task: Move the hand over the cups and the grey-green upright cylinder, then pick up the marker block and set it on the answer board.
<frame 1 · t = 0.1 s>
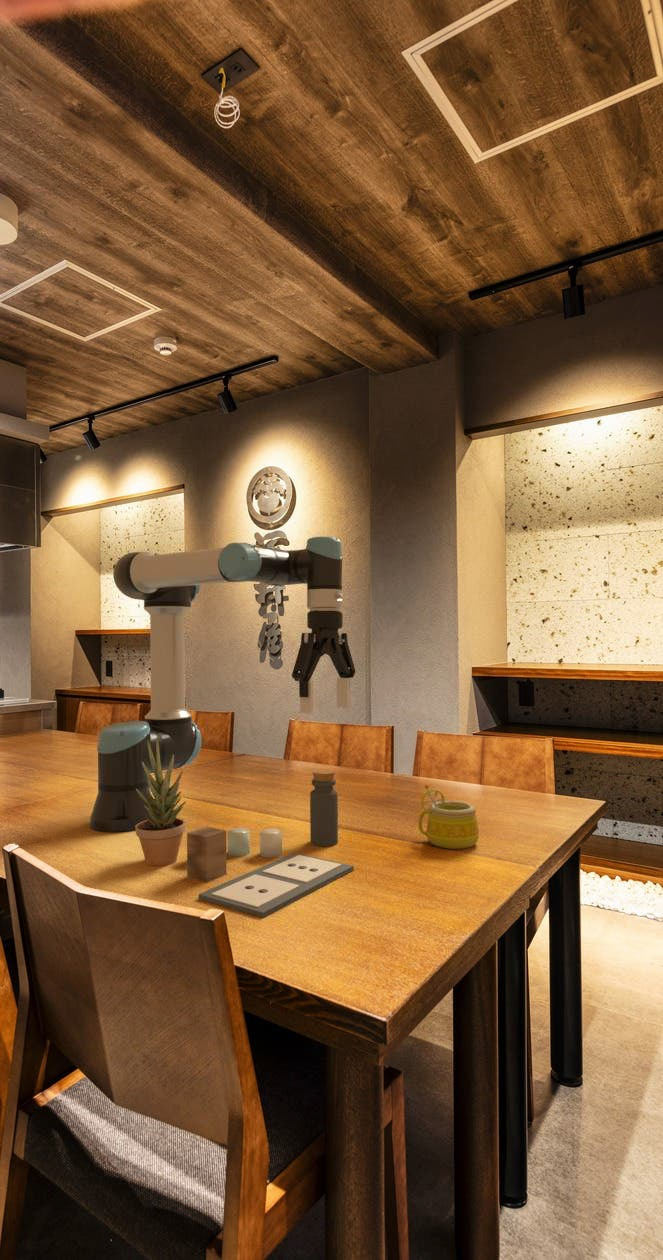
hand: (325, 710, 144), 28 cm above the table, fingers open, 13 cm apart
potted plant: (161, 862, 132), on the table
marker block: (206, 875, 124), on the table
cup a: (203, 860, 133), on the table
grey-green upright cylinder b: (238, 853, 137), on the table
cup c: (271, 854, 136), on the table
mug: (447, 844, 142), on the table
bottle: (324, 843, 144), on the table
answer board: (280, 883, 119), on the table
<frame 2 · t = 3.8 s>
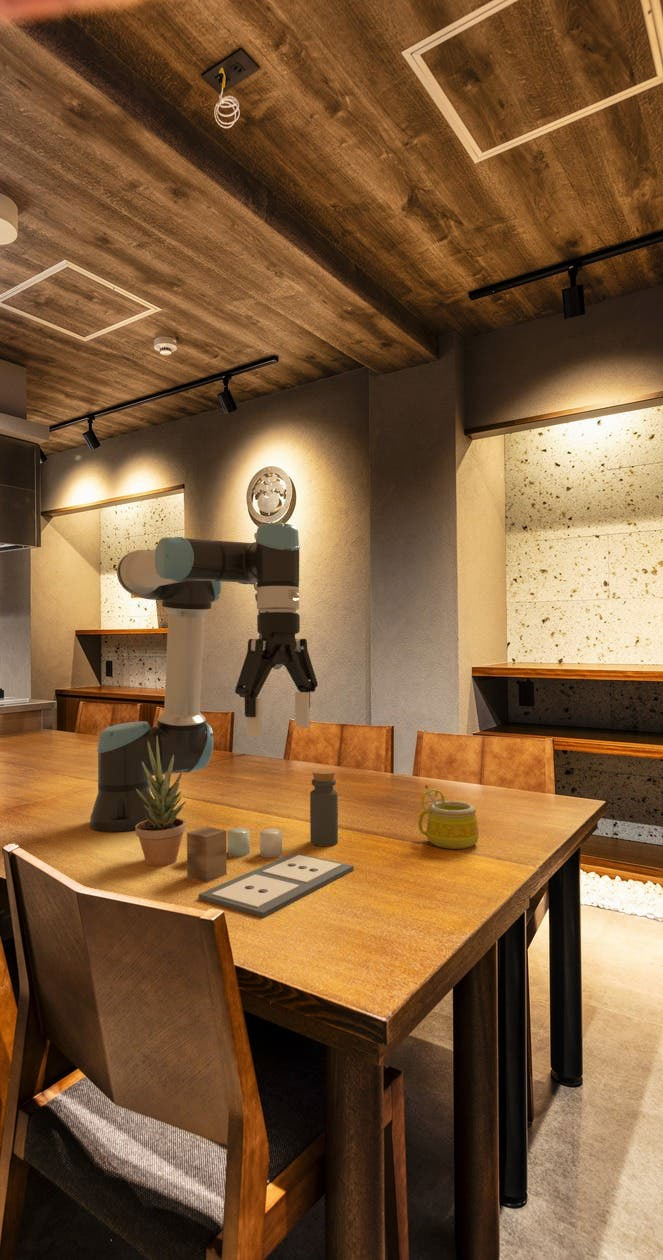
hand: (279, 731, 120), 27 cm above the table, fingers open, 13 cm apart
nothing on the table moved.
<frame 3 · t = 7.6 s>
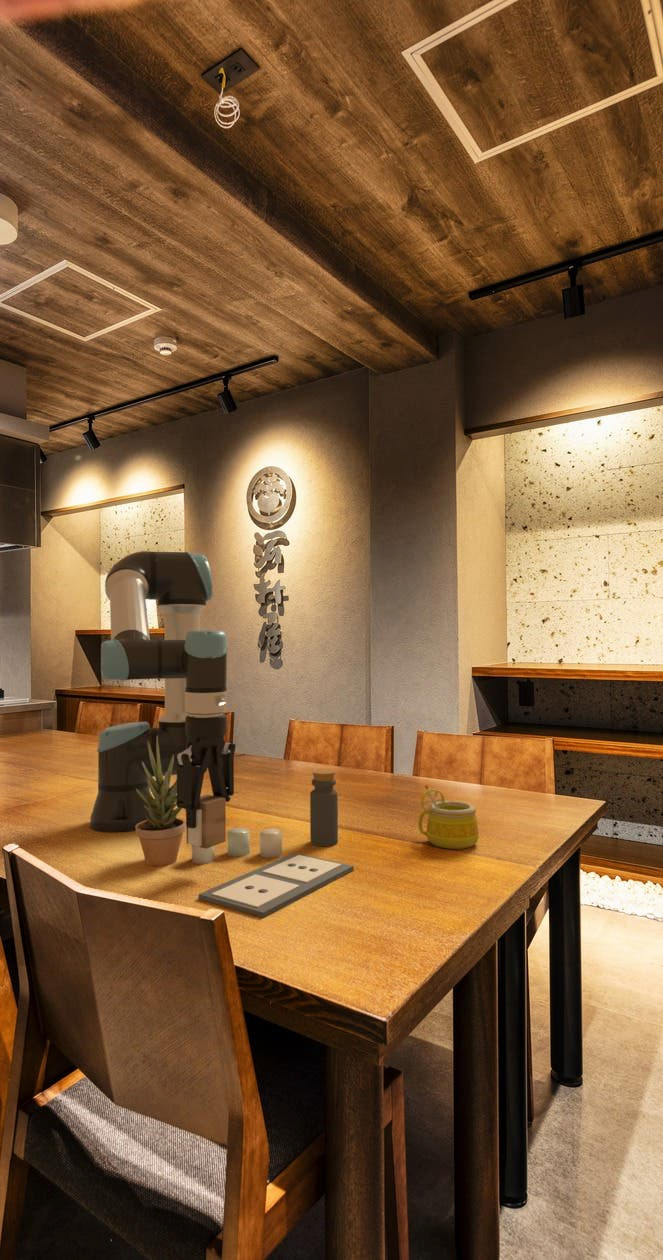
hand: (206, 840, 125), 6 cm above the table, fingers closed on marker block, 5 cm apart
marker block: (206, 842, 125), point 6 cm above the table, touching gripper
everything else where it was.
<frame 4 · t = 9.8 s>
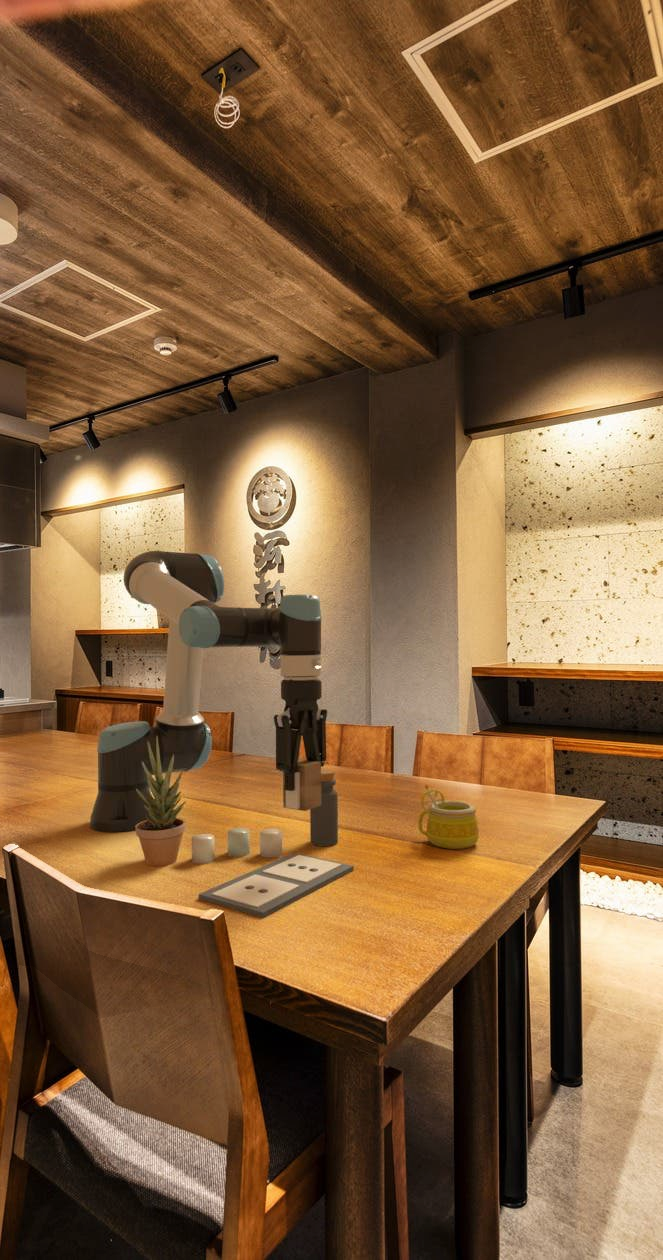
hand: (302, 804, 125), 13 cm above the table, fingers closed on marker block, 5 cm apart
marker block: (302, 806, 125), point 12 cm above the table, touching gripper
everything else where it was.
when the fingers open (1 cm above the table, at t = 11.9 s): marker block stays where it is, resting on answer board.
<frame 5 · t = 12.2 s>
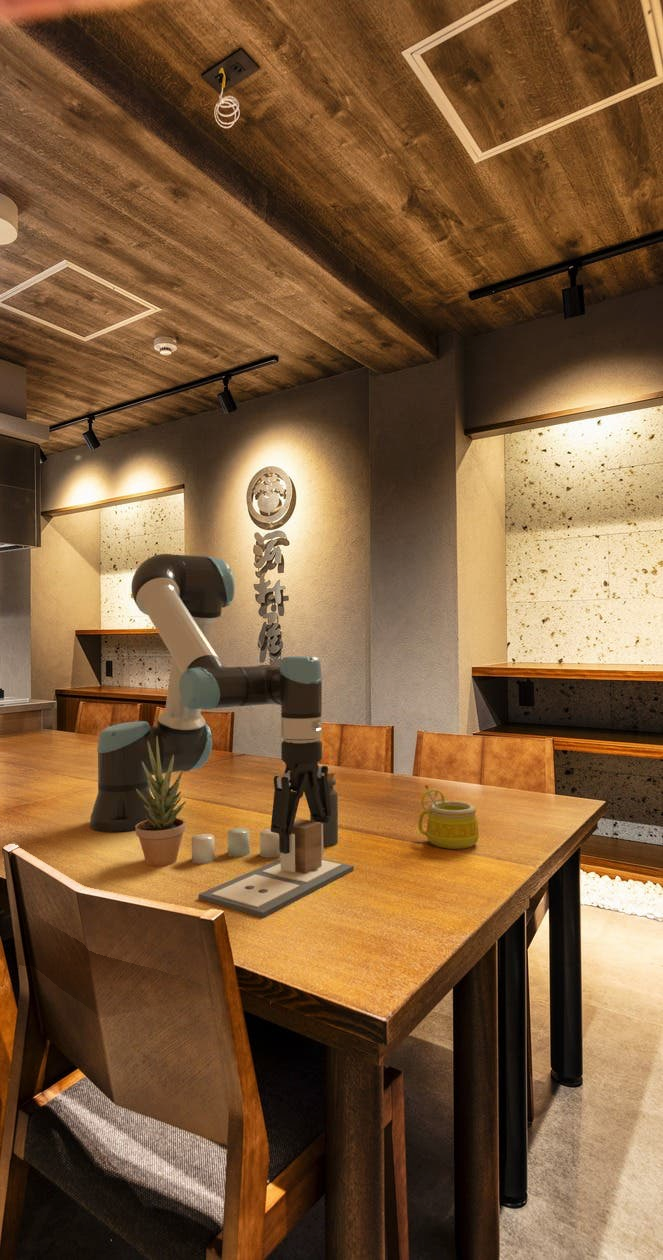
hand: (302, 863, 125), 2 cm above the table, fingers open, 8 cm apart
marker block: (302, 867, 125), point 1 cm above the table, touching answer board
everything else where it was.
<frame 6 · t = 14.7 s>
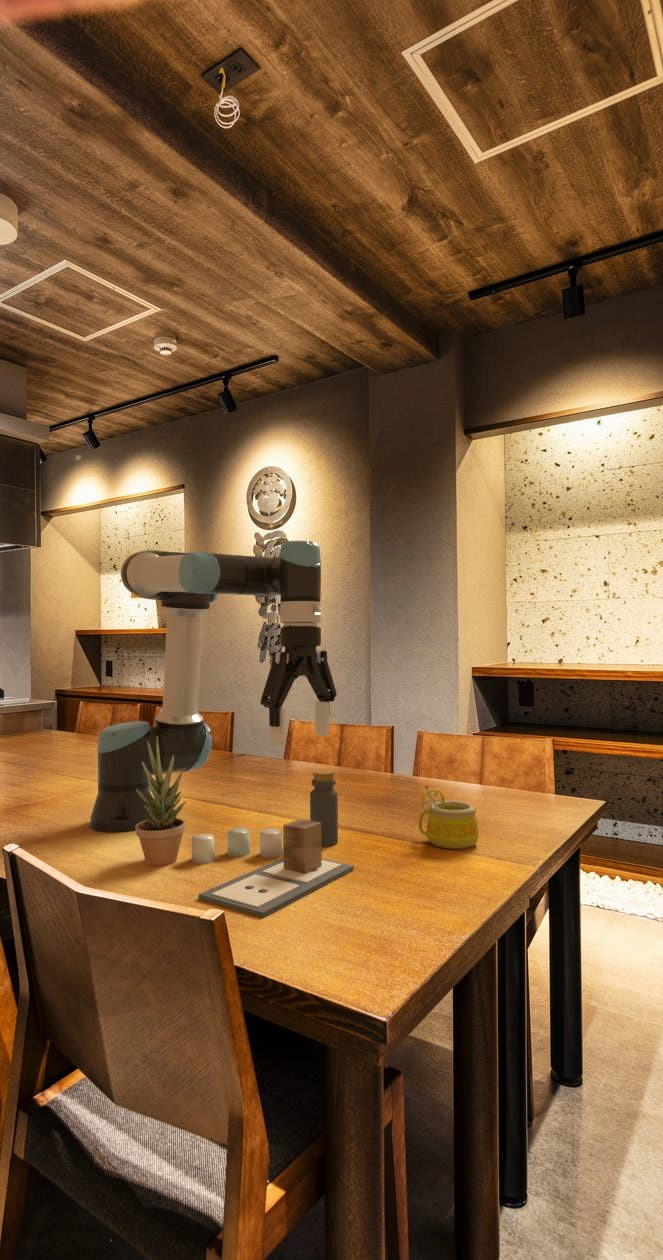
hand: (301, 740, 125), 24 cm above the table, fingers open, 13 cm apart
nothing on the table moved.
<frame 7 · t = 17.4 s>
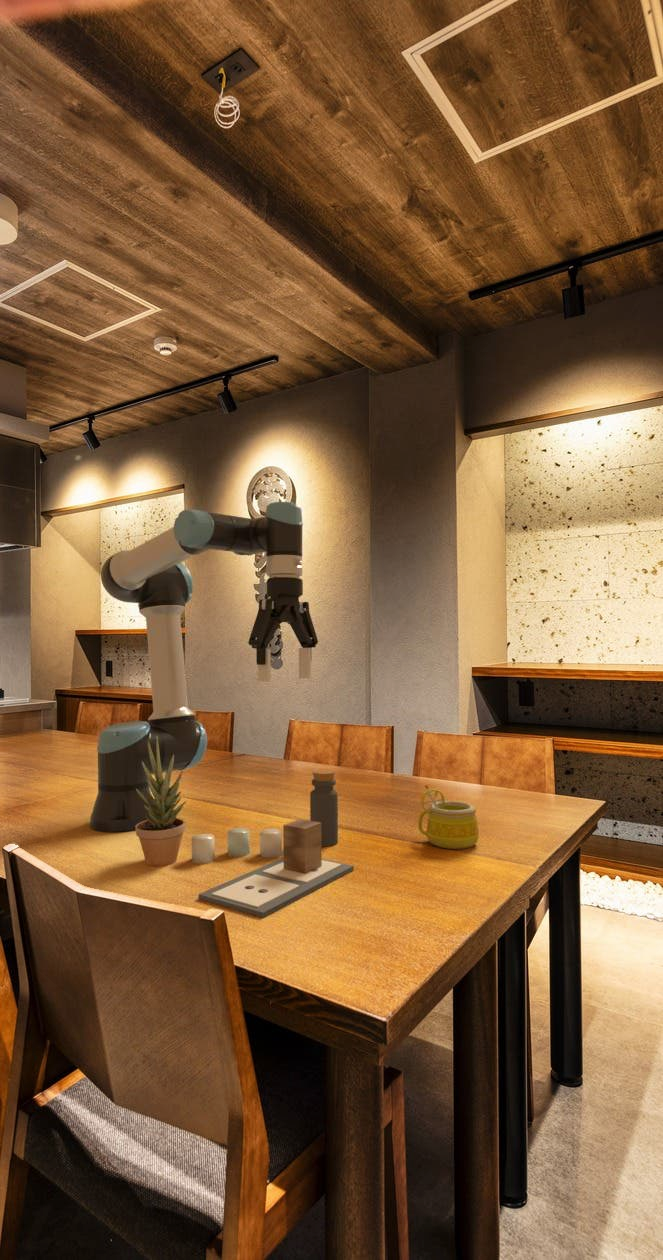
hand: (285, 679, 141), 35 cm above the table, fingers open, 13 cm apart
nothing on the table moved.
at the end: marker block inside the target area on the answer board (0.2 cm from its centre), point 1.0 cm above the answer board's base; marker block tilted 0°; the gripper is holding nothing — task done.
